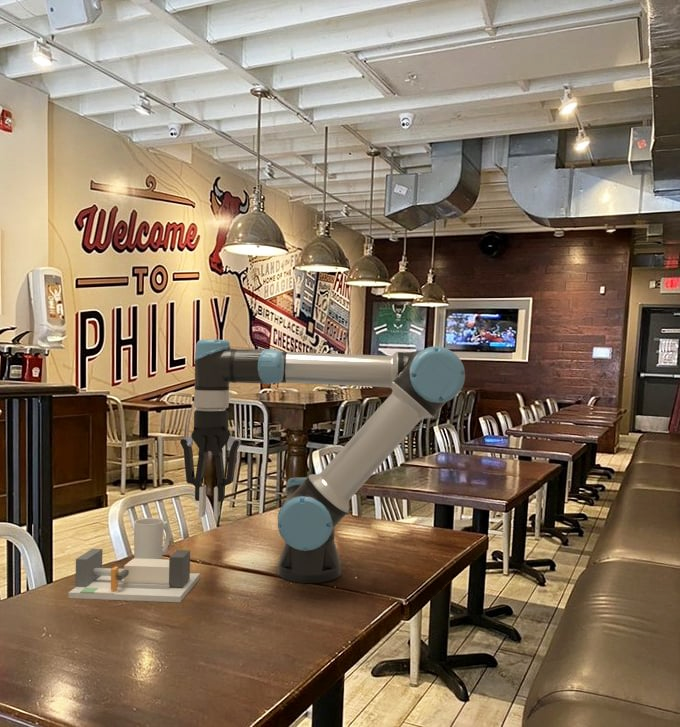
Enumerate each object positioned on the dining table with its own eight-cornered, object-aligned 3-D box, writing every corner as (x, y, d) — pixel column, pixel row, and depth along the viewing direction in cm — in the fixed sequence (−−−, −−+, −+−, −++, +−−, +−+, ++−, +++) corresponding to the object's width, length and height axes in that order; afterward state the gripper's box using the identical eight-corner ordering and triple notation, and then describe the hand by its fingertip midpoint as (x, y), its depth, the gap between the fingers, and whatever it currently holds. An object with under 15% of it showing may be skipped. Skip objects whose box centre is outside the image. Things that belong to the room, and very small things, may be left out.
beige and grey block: (189, 578, 144) (190, 550, 144) (176, 593, 134) (177, 562, 135) (133, 576, 144) (133, 548, 144) (116, 591, 135) (117, 560, 135)
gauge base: (199, 578, 148) (200, 547, 148) (180, 602, 133) (180, 567, 133) (98, 575, 150) (98, 544, 150) (67, 598, 135) (68, 564, 135)
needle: (118, 587, 137) (118, 566, 137) (114, 590, 135) (114, 569, 135) (114, 587, 137) (114, 566, 137) (110, 590, 135) (111, 569, 135)
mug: (146, 577, 149) (147, 526, 149) (127, 572, 152) (128, 521, 152) (178, 566, 157) (179, 517, 157) (159, 561, 161) (160, 514, 161)
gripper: (249, 409, 144) (248, 513, 144) (181, 407, 145) (180, 511, 145) (242, 411, 137) (241, 520, 137) (171, 409, 138) (169, 518, 137)
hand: (209, 515), depth 141 cm, fingers open, 3 cm apart
